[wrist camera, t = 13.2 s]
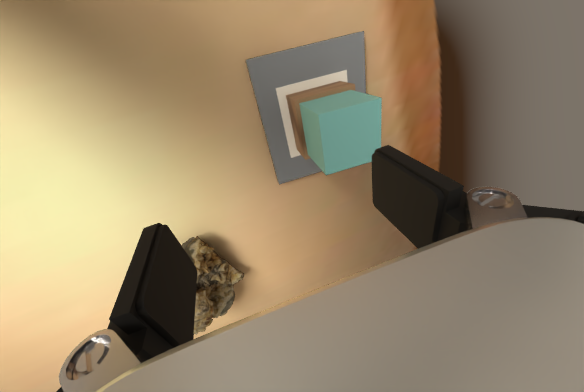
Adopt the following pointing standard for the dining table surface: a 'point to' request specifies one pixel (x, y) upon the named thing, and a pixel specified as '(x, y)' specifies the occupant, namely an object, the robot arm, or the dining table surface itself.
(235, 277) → the mineral specimen
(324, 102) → the teal block
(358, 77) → the grey square mat
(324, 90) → the walnut block
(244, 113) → the dining table surface
